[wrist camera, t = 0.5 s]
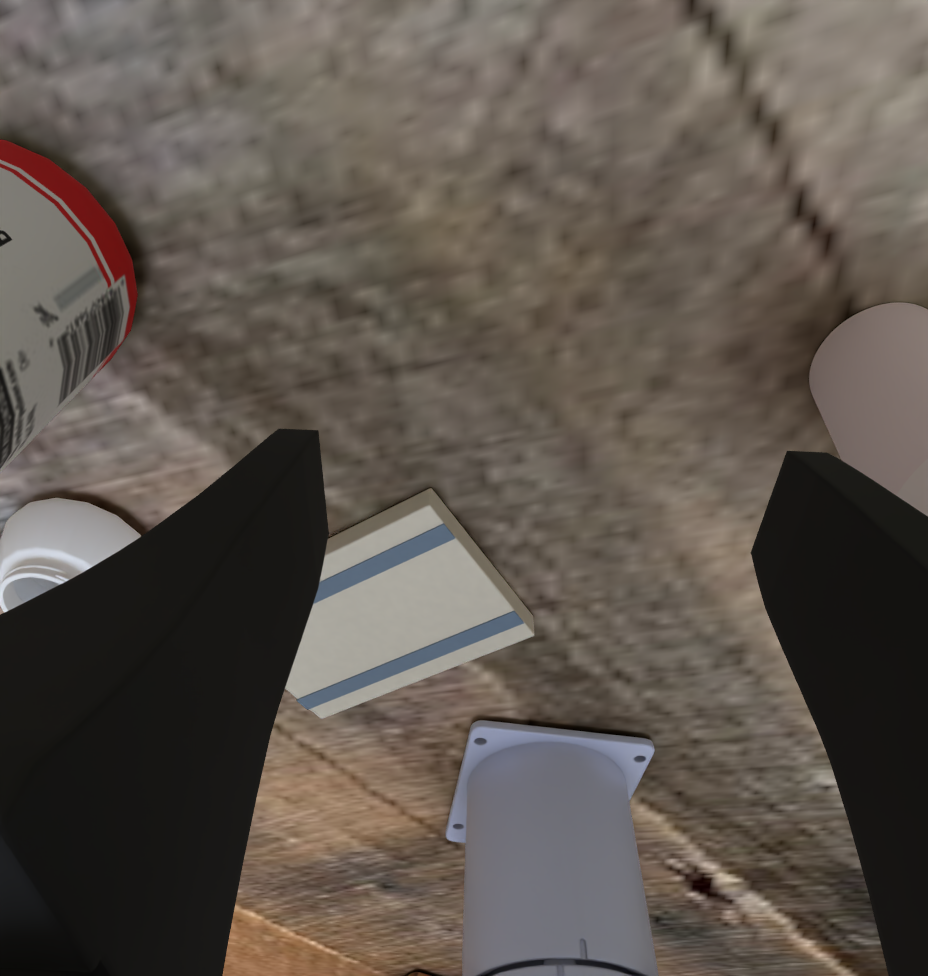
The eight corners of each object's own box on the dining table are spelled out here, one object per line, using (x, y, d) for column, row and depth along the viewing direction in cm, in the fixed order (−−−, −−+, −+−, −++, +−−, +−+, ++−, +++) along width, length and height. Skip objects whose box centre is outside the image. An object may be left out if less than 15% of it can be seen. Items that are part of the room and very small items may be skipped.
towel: (533, 615, 27) (535, 637, 26) (325, 699, 30) (320, 721, 29) (431, 486, 23) (429, 506, 22) (208, 596, 27) (199, 617, 26)
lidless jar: (135, 616, 27) (178, 533, 25) (101, 678, 25) (145, 592, 22) (0, 561, 26) (32, 467, 23) (-49, 622, 24) (-20, 524, 21)
